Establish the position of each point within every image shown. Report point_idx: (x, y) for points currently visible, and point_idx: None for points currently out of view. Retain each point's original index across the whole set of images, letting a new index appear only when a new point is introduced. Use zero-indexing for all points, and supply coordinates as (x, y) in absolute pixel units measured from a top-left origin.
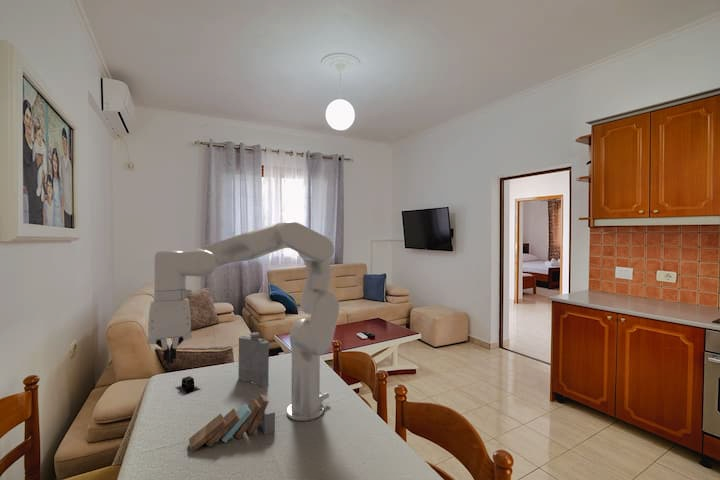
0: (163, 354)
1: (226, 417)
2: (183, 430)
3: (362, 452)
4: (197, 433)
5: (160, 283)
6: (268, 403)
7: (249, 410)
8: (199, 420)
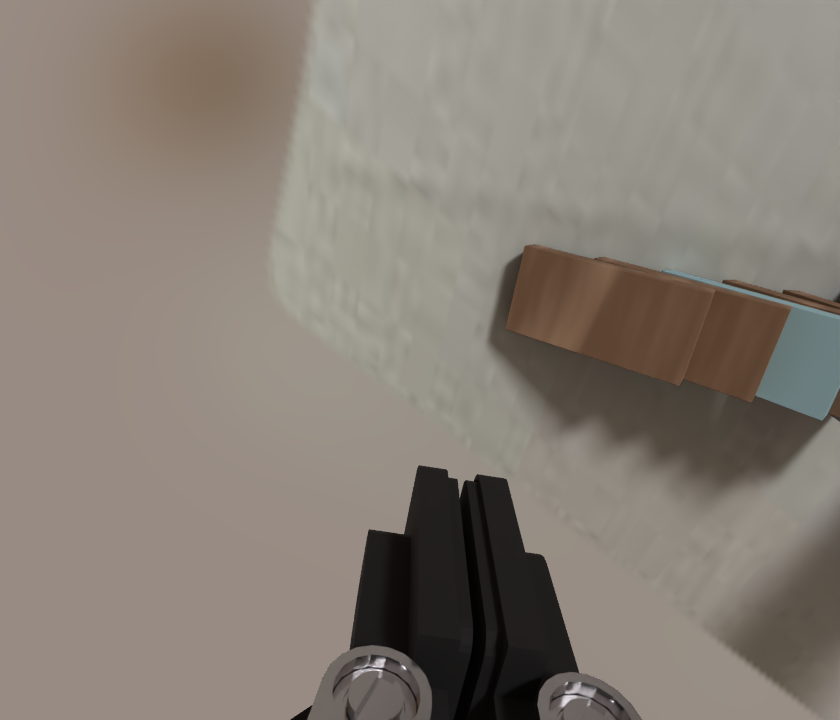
0: (357, 604)
1: (720, 320)
2: (541, 84)
3: None
4: (564, 270)
5: None
6: None
7: (831, 403)
8: (650, 21)
